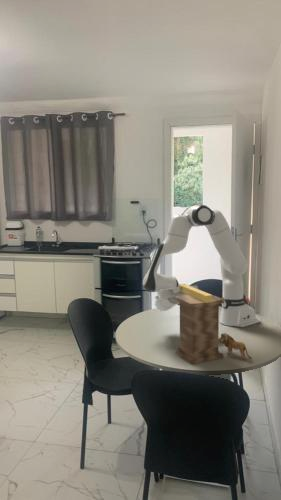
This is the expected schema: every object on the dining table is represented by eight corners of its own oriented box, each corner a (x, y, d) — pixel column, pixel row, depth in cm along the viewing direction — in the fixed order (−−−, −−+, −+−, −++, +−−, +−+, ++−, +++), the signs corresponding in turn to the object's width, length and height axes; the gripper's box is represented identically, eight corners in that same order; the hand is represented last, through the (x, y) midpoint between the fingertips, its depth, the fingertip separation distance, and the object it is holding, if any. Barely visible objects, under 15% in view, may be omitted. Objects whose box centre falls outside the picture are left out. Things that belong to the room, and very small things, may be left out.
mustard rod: (183, 289, 185) (183, 283, 185) (212, 302, 163) (212, 295, 163) (178, 290, 184) (178, 284, 184) (205, 302, 162) (206, 295, 162)
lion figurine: (217, 353, 175) (217, 334, 174) (223, 349, 179) (223, 330, 178) (249, 361, 166) (249, 341, 165) (254, 357, 170) (254, 337, 169)
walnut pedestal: (205, 346, 183) (205, 292, 180) (223, 357, 170) (223, 299, 167) (175, 352, 177) (174, 296, 173) (191, 364, 164) (191, 304, 161)
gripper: (152, 292, 190) (163, 283, 178) (189, 287, 198) (201, 279, 186) (155, 305, 188) (166, 296, 176) (192, 299, 196) (205, 291, 184)
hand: (184, 287), depth 181 cm, fingers open, 4 cm apart
